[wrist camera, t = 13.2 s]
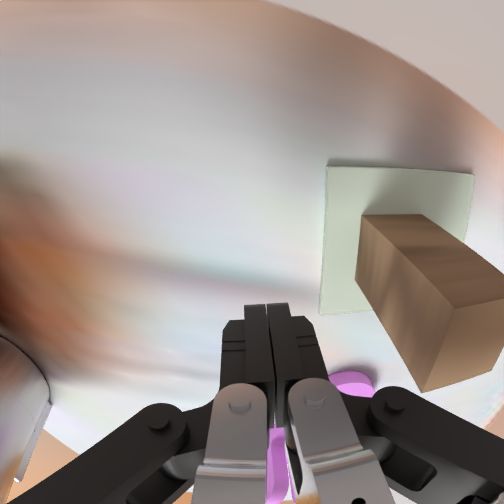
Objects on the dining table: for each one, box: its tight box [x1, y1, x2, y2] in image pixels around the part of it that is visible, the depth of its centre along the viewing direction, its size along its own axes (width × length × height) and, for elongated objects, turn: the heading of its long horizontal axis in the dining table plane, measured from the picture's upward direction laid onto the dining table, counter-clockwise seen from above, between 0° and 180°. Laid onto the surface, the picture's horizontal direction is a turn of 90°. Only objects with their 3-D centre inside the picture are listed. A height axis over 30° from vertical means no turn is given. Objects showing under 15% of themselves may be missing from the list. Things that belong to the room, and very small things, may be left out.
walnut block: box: [354, 214, 504, 393], centre depth 13 cm, size 4×4×9 cm
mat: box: [318, 166, 475, 316], centre depth 17 cm, size 9×10×1 cm
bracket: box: [267, 371, 375, 504], centre depth 21 cm, size 13×6×7 cm, turn 152°
